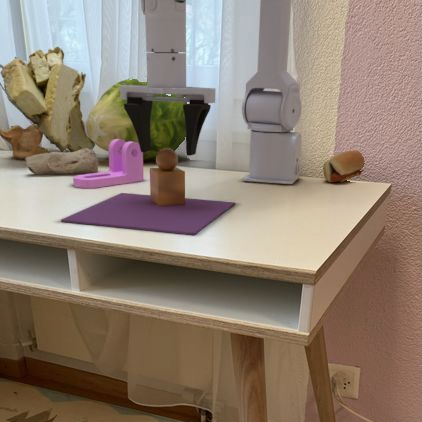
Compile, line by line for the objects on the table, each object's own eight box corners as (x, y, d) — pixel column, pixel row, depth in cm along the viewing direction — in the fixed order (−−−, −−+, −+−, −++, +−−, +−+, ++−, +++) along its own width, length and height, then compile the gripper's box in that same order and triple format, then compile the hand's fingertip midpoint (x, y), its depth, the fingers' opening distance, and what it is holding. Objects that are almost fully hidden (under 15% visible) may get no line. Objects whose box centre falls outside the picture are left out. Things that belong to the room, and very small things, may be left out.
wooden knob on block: (176, 198, 99) (175, 145, 95) (185, 204, 95) (185, 149, 91) (150, 200, 97) (148, 146, 93) (158, 206, 94) (157, 150, 90)
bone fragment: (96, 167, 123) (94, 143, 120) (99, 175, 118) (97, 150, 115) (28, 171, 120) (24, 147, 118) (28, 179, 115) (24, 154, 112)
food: (365, 143, 121) (375, 166, 121) (342, 158, 124) (352, 180, 125) (337, 151, 110) (349, 176, 111) (313, 166, 114) (325, 190, 115)
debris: (92, 153, 149) (132, 115, 145) (73, 175, 123) (122, 130, 119) (13, 62, 139) (54, 19, 135) (-26, 64, 113) (24, 12, 109)
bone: (47, 154, 143) (44, 116, 139) (64, 159, 136) (62, 119, 132) (-4, 156, 136) (-8, 116, 132) (12, 162, 129) (8, 119, 125)
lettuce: (91, 184, 132) (60, 110, 131) (176, 167, 145) (148, 100, 144) (122, 145, 117) (88, 62, 117) (214, 130, 130) (183, 55, 129)
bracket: (125, 176, 117) (124, 138, 114) (143, 180, 114) (142, 141, 110) (67, 184, 109) (64, 143, 106) (84, 189, 106) (81, 147, 102)
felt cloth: (235, 204, 97) (235, 202, 97) (194, 235, 80) (194, 232, 80) (121, 194, 102) (121, 192, 102) (61, 221, 85) (60, 219, 85)
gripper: (107, 52, 85) (113, 153, 92) (203, 53, 81) (203, 159, 87) (130, 52, 91) (134, 147, 97) (220, 53, 87) (219, 153, 93)
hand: (168, 153), depth 93 cm, fingers open, 7 cm apart
